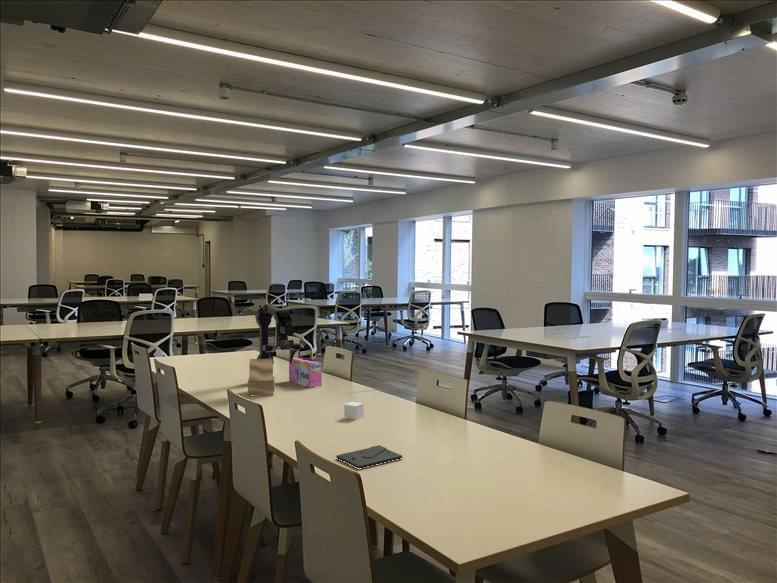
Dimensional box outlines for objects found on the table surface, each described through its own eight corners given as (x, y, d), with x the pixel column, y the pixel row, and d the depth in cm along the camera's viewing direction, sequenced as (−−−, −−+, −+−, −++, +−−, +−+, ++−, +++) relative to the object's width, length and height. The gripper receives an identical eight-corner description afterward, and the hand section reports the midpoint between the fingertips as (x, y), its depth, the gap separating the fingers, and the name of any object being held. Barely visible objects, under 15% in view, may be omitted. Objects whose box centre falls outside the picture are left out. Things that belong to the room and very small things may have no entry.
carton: (249, 391, 307) (249, 376, 306) (274, 390, 309) (274, 375, 309) (247, 396, 295) (247, 381, 294) (274, 395, 297) (274, 380, 297)
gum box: (287, 381, 334) (287, 357, 333) (299, 379, 339) (299, 355, 338) (309, 388, 315) (309, 362, 315) (322, 386, 320) (322, 361, 320)
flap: (249, 359, 300) (249, 359, 299) (272, 358, 302) (272, 358, 301) (249, 381, 294) (249, 380, 294) (272, 380, 296) (272, 380, 296)
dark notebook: (378, 451, 210) (336, 460, 200) (378, 444, 210) (336, 454, 200) (402, 461, 200) (358, 472, 189) (402, 454, 200) (358, 465, 189)
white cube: (356, 420, 250) (356, 406, 250) (344, 418, 253) (344, 404, 253) (363, 416, 256) (363, 403, 255) (351, 415, 259) (351, 401, 258)
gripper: (267, 336, 295) (267, 367, 296) (303, 334, 303) (303, 365, 304) (262, 333, 305) (262, 364, 306) (297, 332, 313) (297, 361, 314)
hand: (281, 363), depth 307 cm, fingers open, 9 cm apart
